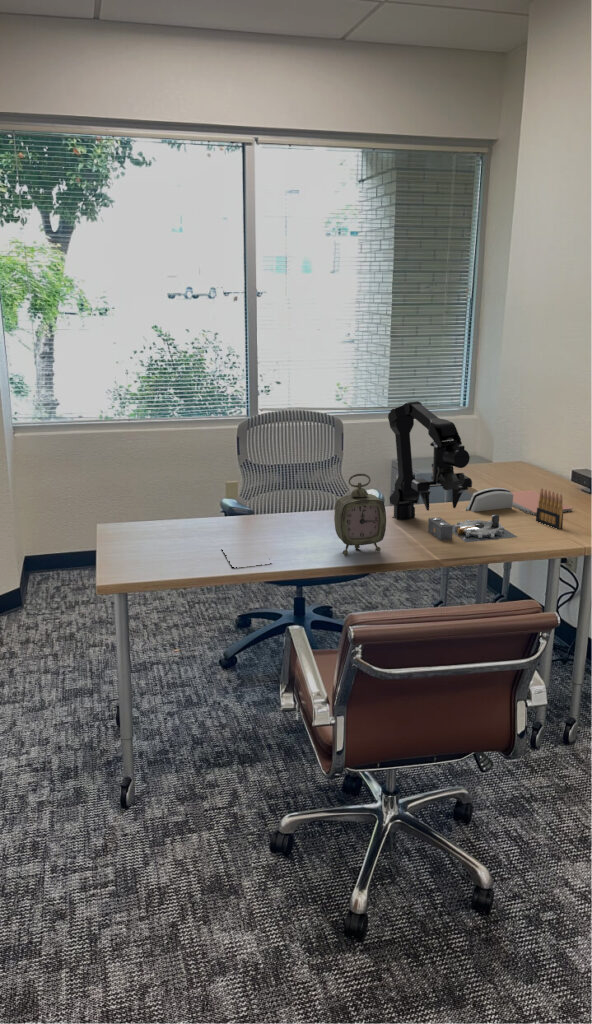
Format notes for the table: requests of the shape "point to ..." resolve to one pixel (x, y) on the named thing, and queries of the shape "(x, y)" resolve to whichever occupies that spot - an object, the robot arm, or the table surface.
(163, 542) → the table surface
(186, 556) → the table surface
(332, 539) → the table surface
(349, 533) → the tabletop clock
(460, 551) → the table surface
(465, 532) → the sprocket wheel
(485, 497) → the grey half-round block
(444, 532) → the chain link
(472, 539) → the base plate
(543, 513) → the ammunition clip
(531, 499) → the notebook
